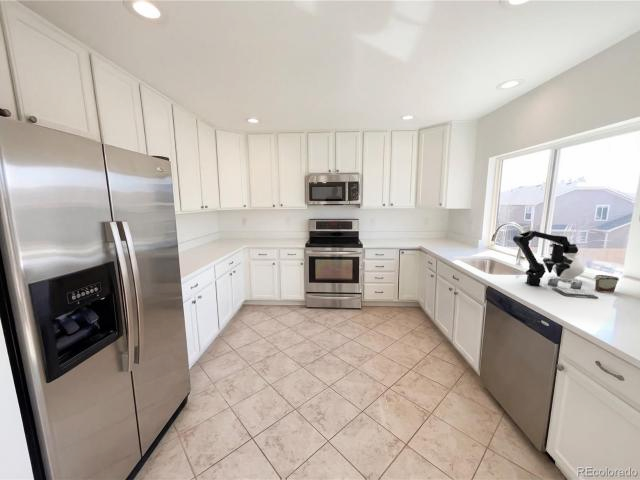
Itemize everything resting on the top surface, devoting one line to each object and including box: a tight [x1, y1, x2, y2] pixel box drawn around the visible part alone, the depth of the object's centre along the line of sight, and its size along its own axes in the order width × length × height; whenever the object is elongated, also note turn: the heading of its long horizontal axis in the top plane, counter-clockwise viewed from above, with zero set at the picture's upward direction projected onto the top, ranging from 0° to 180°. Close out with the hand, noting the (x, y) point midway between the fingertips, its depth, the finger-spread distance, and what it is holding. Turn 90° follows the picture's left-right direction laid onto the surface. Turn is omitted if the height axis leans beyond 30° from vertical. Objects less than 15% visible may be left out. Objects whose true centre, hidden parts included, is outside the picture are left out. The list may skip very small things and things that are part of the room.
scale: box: [551, 287, 599, 300], centre depth 158 cm, size 17×12×1 cm
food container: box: [593, 274, 620, 293], centre depth 163 cm, size 12×6×10 cm, turn 84°
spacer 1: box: [547, 276, 559, 287], centre depth 174 cm, size 5×5×5 cm
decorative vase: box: [552, 246, 586, 282], centre depth 185 cm, size 18×18×25 cm
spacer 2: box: [569, 280, 583, 289], centre depth 167 cm, size 5×5×5 cm
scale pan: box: [555, 287, 596, 296], centre depth 158 cm, size 15×9×1 cm, turn 75°
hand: (553, 274), depth 173 cm, fingers open, 9 cm apart
